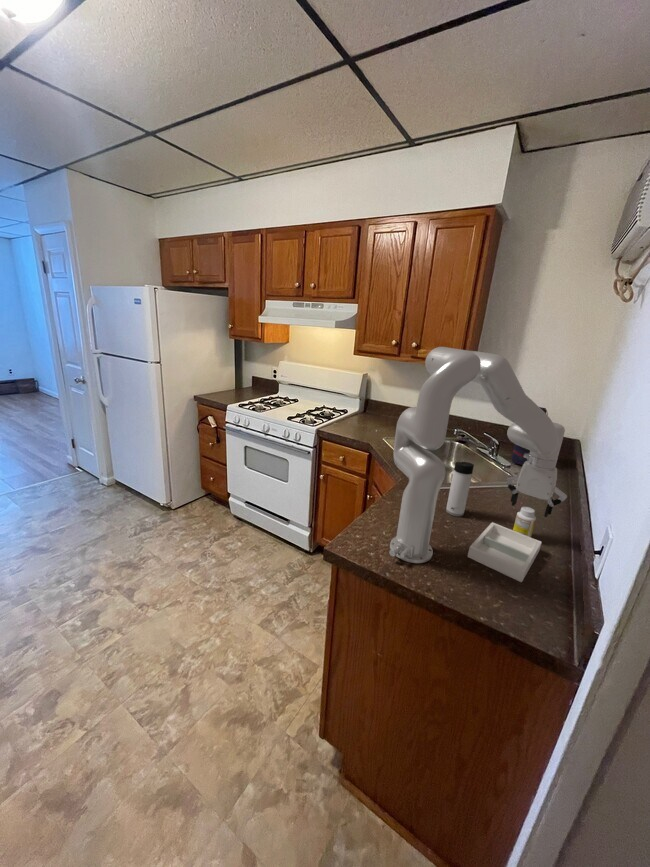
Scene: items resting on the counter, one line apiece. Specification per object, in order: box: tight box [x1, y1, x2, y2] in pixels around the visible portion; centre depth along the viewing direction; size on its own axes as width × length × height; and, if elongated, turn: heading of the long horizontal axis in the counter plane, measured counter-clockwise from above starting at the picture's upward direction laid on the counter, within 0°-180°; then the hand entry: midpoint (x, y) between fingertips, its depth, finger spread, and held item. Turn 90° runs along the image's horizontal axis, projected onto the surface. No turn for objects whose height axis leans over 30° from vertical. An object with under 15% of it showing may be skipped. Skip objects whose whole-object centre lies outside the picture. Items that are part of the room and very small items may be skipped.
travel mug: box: [445, 461, 475, 517], centre depth 129 cm, size 6×7×20 cm
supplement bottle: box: [512, 505, 537, 538], centre depth 118 cm, size 6×6×10 cm
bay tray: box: [467, 521, 542, 583], centre depth 109 cm, size 20×15×4 cm
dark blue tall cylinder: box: [510, 406, 549, 466], centre depth 181 cm, size 14×12×30 cm
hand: (529, 509), depth 117 cm, fingers open, 9 cm apart
